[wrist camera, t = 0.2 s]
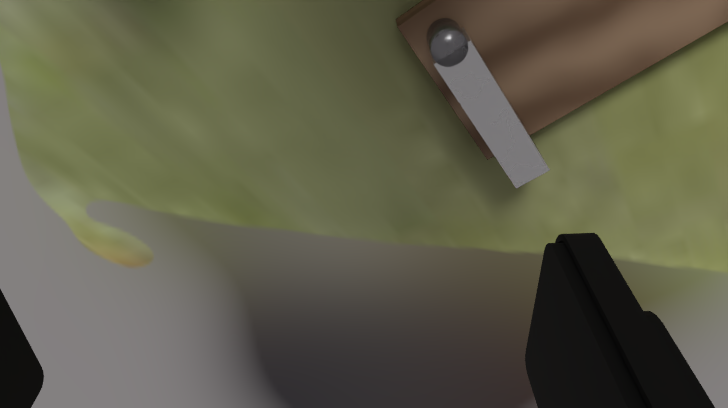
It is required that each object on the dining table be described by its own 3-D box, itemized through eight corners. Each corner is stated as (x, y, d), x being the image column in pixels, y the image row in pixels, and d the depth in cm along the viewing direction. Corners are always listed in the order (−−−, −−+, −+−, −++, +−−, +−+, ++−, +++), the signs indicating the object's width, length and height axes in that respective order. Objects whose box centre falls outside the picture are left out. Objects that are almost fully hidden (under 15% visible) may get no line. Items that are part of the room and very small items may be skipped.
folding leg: (417, 33, 42) (421, 46, 40) (452, 9, 41) (459, 21, 39) (508, 169, 49) (516, 188, 46) (539, 151, 48) (549, 170, 45)
